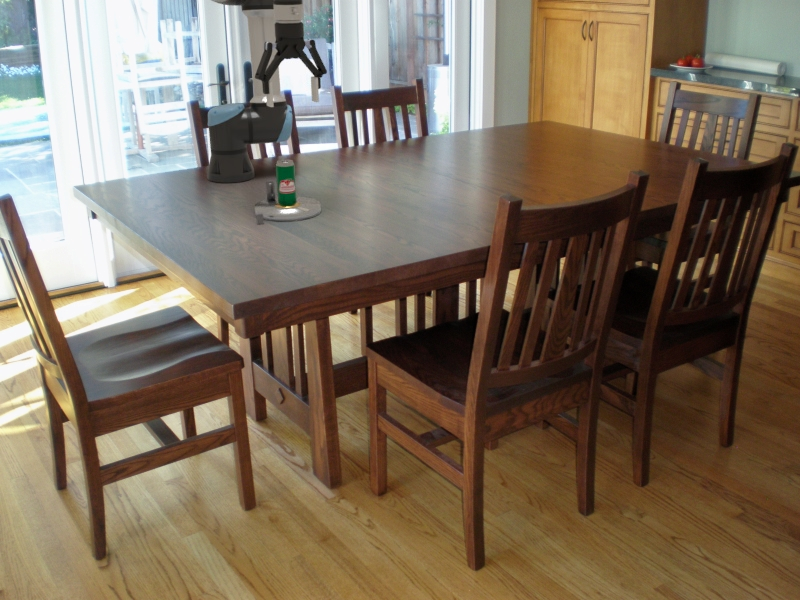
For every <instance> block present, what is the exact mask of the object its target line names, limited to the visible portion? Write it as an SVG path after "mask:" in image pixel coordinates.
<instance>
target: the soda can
mask: <svg viewBox="0 0 800 600" xmlns="http://www.w3.org/2000/svg"><path fill="white" fill-rule="evenodd" d="M295 168H296V167H295V163H294V160H293V159H288V158H287V159H278V160H277V161H276V163H275V175H276V176H275V177H276V193H277V197H278V203H279V204H280V205H281V206H293V205H295V204H296V202H297V198H296V197H297V185H296V169H295Z"/></svg>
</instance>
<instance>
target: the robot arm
mask: <svg viewBox="0 0 800 600" xmlns="http://www.w3.org/2000/svg"><path fill="white" fill-rule="evenodd" d="M211 1H212V2H214V3H217V4H221V5H224V6H239V7H240V6H241V12H242V14H243V15H245V17H246V18H247V27H248V39H249V52H250V62H251V75H252V89H253V97H251V99H250V100H249V107H245V105H244V103H241V102H233V103H232V102H231V103H226V104H225V103H224V104H221V105H217V106H214V107H212V108H210V109H209V110H208V112H207V126H208V135H209V145H210V146H209V147H210V159H209V163H208V167H207V173H206V175H207V179H208V181H210V182H213V183H221V184H224V183H225V184H229V183H231V184H233V183H241V182H246V181H250V180H252V179H254V178H255V176H256V175H255V169H254V166H253V164H252V162H251V159H250V156H249V154H248V145H259V144H272V143H273V144H277V143H283V142H286V141H288V140H289V139H290V137H291V134H292V130H293V110H292V109H293V108H292V107H291V105H289V104H287V100H286V98H284V96H282V90H281V81H280V80H281V79H280V67H279V66H280V65H281V63H282V62H283V61H284V60H291V59H300V61H301V62H302V63H303V64H304V66H305V67H306V68H307V69H308V70H309V72H310V73H311V74H312V75H313V76H310V84H311V85H310V86H311V87H310V90H311V102H315V103H319V102H320V97H319V96H320V95H319V92H320V91H319V90H320V89H321V87H322V85H321V84H322V80H321V79H322V77H323V76H324V75H326V74H327V73H328V70H327V68H326V66H325V64H324V62H323V60H322V58H321V56H320V54H319V52H318V49H317V47H316V41H315V39H311V38H307V40H305V39H304V37H305V32H304V31H305V30H304V29H305V28H304V27H305V25H304V23H303V22H302V21H303V20H304V8H303V0H211ZM305 47H306V49H307V50H308V52H309V54H310V56H311V58H312V60H313V62H314V63H313V62H312V61H311V60H310V58H309V57H308V55H307V54H306V53H305V51H304V49H305Z"/></svg>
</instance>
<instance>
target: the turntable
mask: <svg viewBox="0 0 800 600" xmlns="http://www.w3.org/2000/svg"><path fill="white" fill-rule="evenodd" d="M275 187H276V186H275V182H274V181H265V189H266V190H265V191H266V199H263V200H261V201H258V202H257V203H255V205H254V214H255V216H256V213H263V221H264V220H265V221H270V222H298V221H304V220H309V219H311V218H315V217H316V216H319V215H320V213H322V212H321V211H322V208H321V207H322V204H321V202H320V201H319V200H318V199H315V198H311V197H306V196H296V198H297V202H296V204H295V205H293V206H281V205H280V204H279V203H278V196H277V197H276V188H275Z"/></svg>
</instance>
